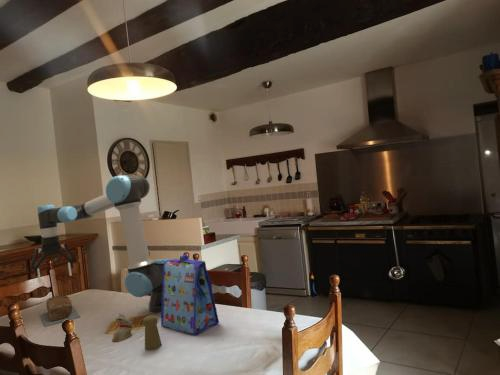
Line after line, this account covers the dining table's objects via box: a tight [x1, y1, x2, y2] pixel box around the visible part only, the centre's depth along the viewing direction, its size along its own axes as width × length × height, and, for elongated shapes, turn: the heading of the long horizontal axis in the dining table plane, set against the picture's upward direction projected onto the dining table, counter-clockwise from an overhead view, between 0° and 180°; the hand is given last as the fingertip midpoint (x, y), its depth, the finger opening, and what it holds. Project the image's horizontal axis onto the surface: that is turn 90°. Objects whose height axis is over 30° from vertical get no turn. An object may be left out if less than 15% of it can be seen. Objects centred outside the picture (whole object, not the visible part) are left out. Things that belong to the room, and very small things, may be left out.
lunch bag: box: [160, 254, 220, 336], centre depth 149 cm, size 22×14×29 cm, turn 49°
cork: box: [142, 314, 163, 351], centre depth 132 cm, size 6×6×11 cm
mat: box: [40, 305, 81, 328], centre depth 181 cm, size 24×15×1 cm, turn 34°
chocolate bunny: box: [111, 312, 133, 343], centre depth 144 cm, size 6×8×10 cm
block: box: [45, 295, 73, 321], centre depth 182 cm, size 11×8×20 cm
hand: (55, 278), depth 181 cm, fingers open, 13 cm apart
